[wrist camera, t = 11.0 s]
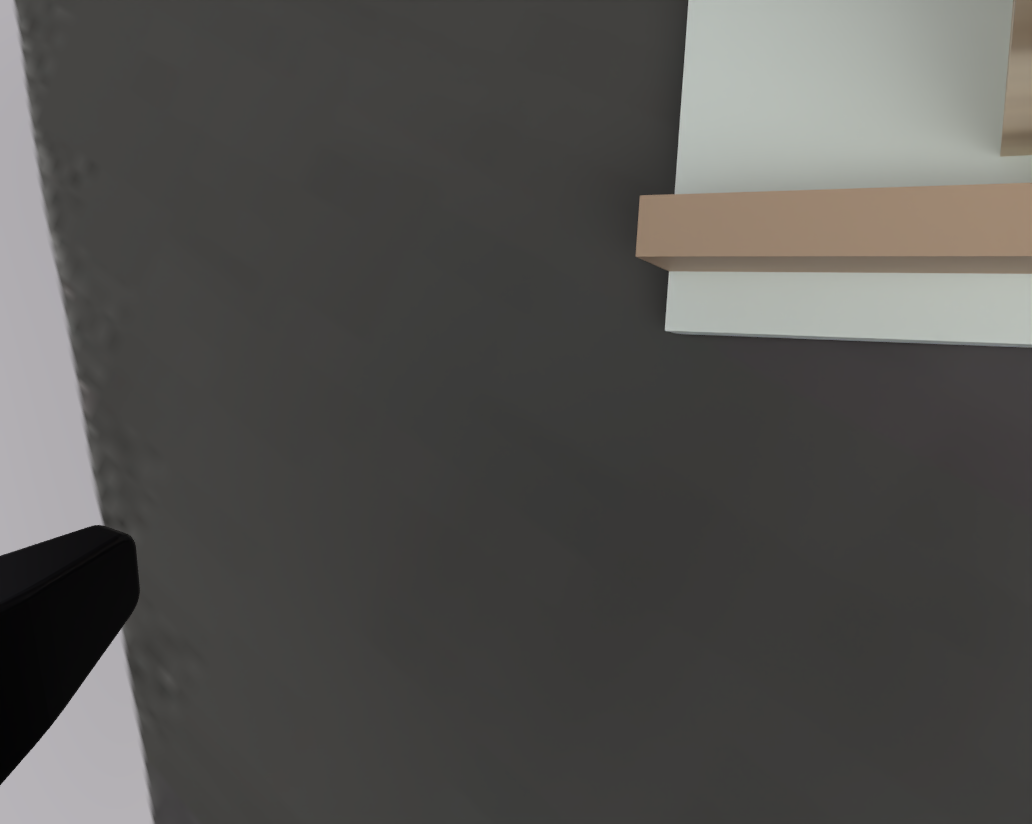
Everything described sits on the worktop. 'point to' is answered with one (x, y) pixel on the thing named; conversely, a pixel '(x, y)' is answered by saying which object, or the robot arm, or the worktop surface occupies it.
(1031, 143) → the maple plank
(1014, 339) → the grooved board
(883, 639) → the worktop surface
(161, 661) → the worktop surface
